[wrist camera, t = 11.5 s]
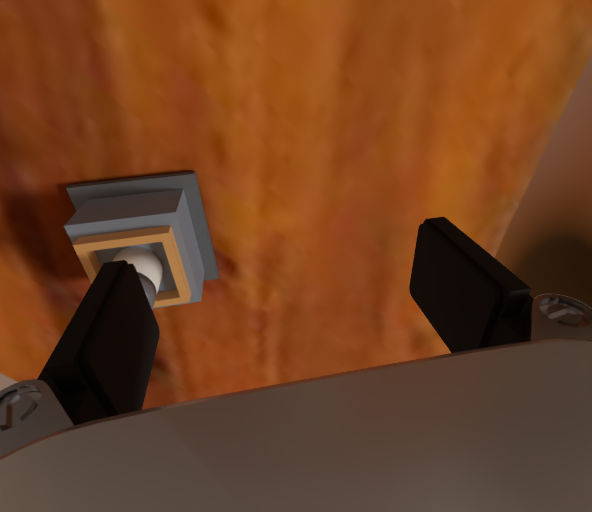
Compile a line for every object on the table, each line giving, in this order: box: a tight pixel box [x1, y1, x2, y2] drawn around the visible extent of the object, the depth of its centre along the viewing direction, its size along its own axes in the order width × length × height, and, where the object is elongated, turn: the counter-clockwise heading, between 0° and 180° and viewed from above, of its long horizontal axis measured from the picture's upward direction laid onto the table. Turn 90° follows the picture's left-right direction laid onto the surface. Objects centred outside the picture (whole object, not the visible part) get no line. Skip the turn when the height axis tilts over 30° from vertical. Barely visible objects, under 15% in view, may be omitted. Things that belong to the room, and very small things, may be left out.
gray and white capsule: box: [112, 246, 164, 310], centre depth 32 cm, size 5×5×6 cm
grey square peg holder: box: [64, 171, 219, 308], centre depth 36 cm, size 14×13×8 cm
